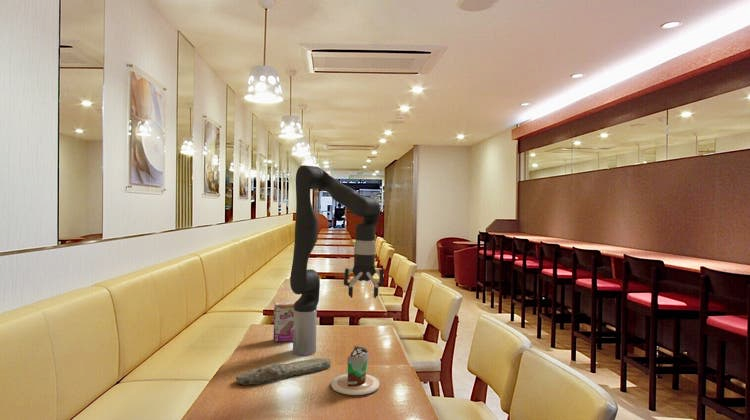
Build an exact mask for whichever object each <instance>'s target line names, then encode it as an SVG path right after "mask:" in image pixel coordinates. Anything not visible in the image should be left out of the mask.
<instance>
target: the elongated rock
mask: <svg viewBox="0 0 750 420" xmlns="http://www.w3.org/2000/svg"><path fill="white" fill-rule="evenodd" d="M331 365H332V363H331V359H330V358H328V357H327V358H326V357H325V358H323V357H321V358H320V357H314V358H311V359H304V360H303V359H302V360H297V361H294V362H288V363H280V362H274V363H271V364H265V365H263V366H262V365H261V366H258V367H256V368H253V369H250V370H247V371H244V372H240V373H238V374H237V375H236V377H235V381H236V382H237V384H240V385H243V386H246V385H247V386H248V385H261V383H262V384H266V383H271V382H272V383H273V382H277V381H279V380H284V379H288V378H290V377H292V376H302V375H304V374H308V373H315V372H321V371H323V370H327V369H328V368H331ZM265 382H266V383H265Z"/></svg>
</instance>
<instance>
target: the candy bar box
mask: <svg viewBox="0 0 750 420" xmlns="http://www.w3.org/2000/svg"><path fill="white" fill-rule="evenodd" d="M295 302H296V301H295ZM295 302H293V301H292V302H289V301H288V302H274V305H273V335H272V336H273V339H272V340H273V343H285V342H286V343H287V342H293V326H294V303H295Z"/></svg>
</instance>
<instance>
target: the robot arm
mask: <svg viewBox="0 0 750 420" xmlns="http://www.w3.org/2000/svg"><path fill="white" fill-rule="evenodd" d="M311 190H321V191H323V192H326V193H328V194H329V195H330V196H331V198H332V199H333V200H334V201H335V202H337V203H339V204H340V205H342V206H344V207H345V208H347V210H349V211H350V212H351V213H352V214H353V215H354V216H357V217H360V218H363V220H362V222H360V223H359V224H357V225H356V227H355V239H354V240H355V243H354V248H353V249H354V252H353V253H354V254H353V268H348V267H345V268H344V275H343V276H344V277H343V285H344V286H347V288H348V291H347V295H348V296H349V298H350V299H351V298H353V293H354V292H353V291H354V288H353V286H354V285H355V283H357V282H358V281H359V282H364V281H365V282H369V281H370V282H371V283H372V285H373V298H374V299H376V298H377V297H378V296H379V288H380V287H383V286H384V270H383V269H382V267H381V268H379V269H377V268H375V266H376V265H375V264H376V262H375V261H376V253H377V252H376V228H377V226H378V222H379V218H380V214H381V204H380V202H379V200H378V199H377V198H375V197H371V196H370V197H366V196H361V195H360V193H359V192H358V191H357V190H356V189H353V188H351V187H349V186H348V185H346V184H343V183H342V182H340V181H338V180H337V179H335V178H334V177H332V175H330V174H329V173H328V172H326V170H324V169H323V168H321V167H319V166H313V165H306V164H305V165H300V166H299V167H298V169H297V170H296V173H295V197H296V198H295V199H296V204H295V225H294V242H293V243H294V245H293V257H292V264H291V271H290V277H289V284H290V289H291V290H292V291H291V292H292V293H294V294H295V295H300V296H299V298H298V299H297V300H296V301H295V303H294V326H293V341H292V355H297V356H310V355H313V354H315V353H316V352H317V322H318V321H317V316H318V315H317V313H318V310H317V309H318V304H319V301H320V292H321V291H320V288H321V281H320V280H321V279H320V276H319V273H318V272H317V270H314V269H308V263H309V258H310V255H311V253H312V251H313V250H314V248H315V245H316V243H317V241H318V237H319V220H318V217H317V215H316V212H315V210H314V207H313V206H312V205H313V204H312V202H311ZM351 273H352V274H353V277H352V279H351V280H350V281H349V275H351ZM375 274H377V275H378V276H379V277H378V280H379V281H378V282H377V281H376V280H375V278H374V276H375ZM348 281H349V282H348Z"/></svg>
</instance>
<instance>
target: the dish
mask: <svg viewBox="0 0 750 420" xmlns="http://www.w3.org/2000/svg"><path fill="white" fill-rule="evenodd" d="M330 387H331V389H332V390H334V391H335V392H337V393H339V394H343V395H348V396H362V395H368V394H371V393H374V392H376V391H377V390H378V389H379V388H380V380H379V379H378V378H377V377H375V376H373V375H372V374H371V375H370V374H367V373H366V380H365V383H364V384H362V385H360V386H354V387H348V373H344V374H343V373H342V374H339V375H337V376H335V377H334V378H332V380H331V381H330Z"/></svg>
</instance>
